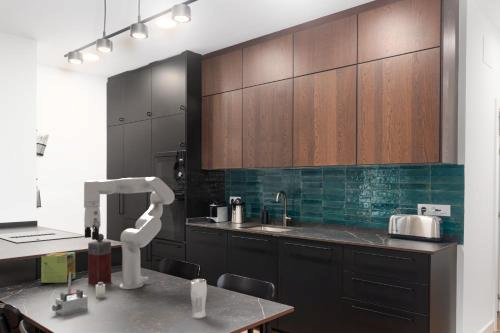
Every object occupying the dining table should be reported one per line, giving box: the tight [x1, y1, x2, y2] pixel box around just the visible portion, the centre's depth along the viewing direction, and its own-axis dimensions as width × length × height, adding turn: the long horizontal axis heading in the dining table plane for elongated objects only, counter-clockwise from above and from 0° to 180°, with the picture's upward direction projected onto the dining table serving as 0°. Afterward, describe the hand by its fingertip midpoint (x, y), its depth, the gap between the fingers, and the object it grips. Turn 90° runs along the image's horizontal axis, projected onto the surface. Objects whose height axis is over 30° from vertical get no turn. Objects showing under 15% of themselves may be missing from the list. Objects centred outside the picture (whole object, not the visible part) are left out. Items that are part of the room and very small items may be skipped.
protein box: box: [40, 251, 76, 284], centre depth 229 cm, size 10×15×16 cm
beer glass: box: [189, 278, 208, 320], centre depth 165 cm, size 7×7×15 cm
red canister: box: [87, 233, 112, 286], centre depth 223 cm, size 9×11×28 cm
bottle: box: [95, 282, 106, 299], centre depth 195 cm, size 4×4×7 cm
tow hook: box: [66, 272, 76, 296], centre depth 196 cm, size 8×13×9 cm
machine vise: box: [51, 288, 89, 317], centre depth 173 cm, size 13×8×8 cm, turn 135°
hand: (91, 238), depth 196 cm, fingers open, 9 cm apart
